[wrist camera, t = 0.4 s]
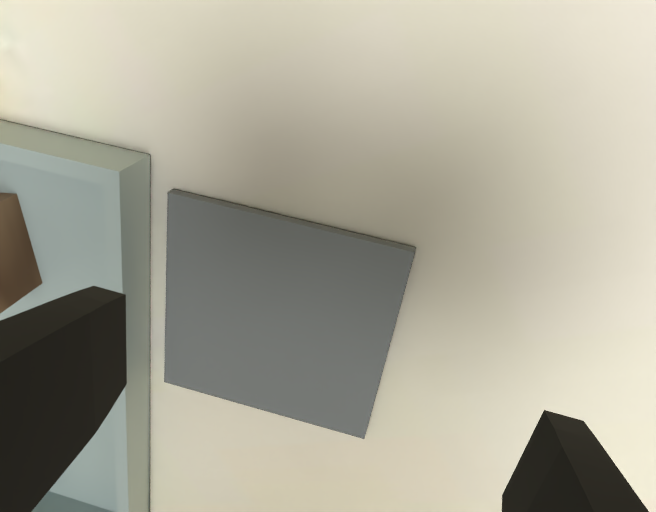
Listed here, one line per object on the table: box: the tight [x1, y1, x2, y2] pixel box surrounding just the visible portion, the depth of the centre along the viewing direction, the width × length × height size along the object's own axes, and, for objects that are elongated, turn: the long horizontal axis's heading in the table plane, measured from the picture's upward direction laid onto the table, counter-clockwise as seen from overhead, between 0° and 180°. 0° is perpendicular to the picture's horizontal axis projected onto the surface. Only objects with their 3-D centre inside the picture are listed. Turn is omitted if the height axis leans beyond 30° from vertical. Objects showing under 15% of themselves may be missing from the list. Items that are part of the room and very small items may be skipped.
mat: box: [164, 189, 416, 439], centre depth 21 cm, size 9×9×1 cm
